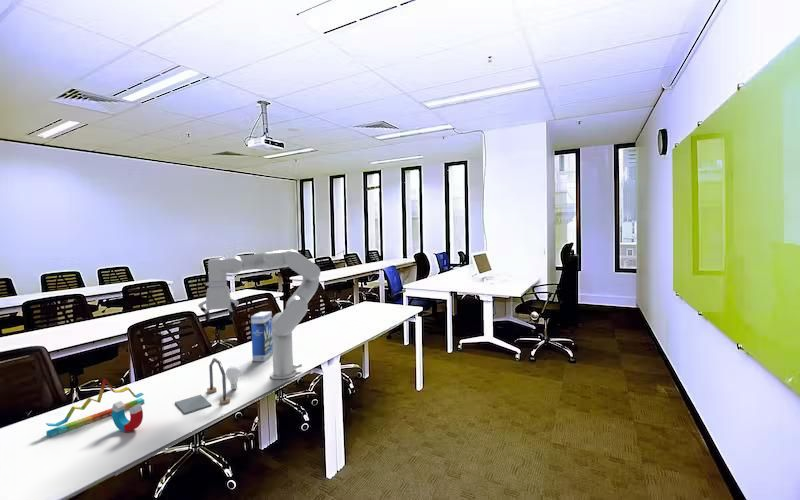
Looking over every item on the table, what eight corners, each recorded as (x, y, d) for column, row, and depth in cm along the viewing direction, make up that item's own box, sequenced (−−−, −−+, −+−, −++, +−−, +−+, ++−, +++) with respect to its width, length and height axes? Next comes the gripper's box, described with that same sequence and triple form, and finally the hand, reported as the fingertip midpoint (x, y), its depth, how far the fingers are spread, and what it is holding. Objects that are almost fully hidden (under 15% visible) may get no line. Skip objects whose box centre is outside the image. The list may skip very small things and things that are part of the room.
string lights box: (265, 361, 206) (263, 316, 205) (251, 361, 207) (250, 316, 206) (273, 353, 220) (272, 311, 219) (261, 354, 220) (259, 311, 219)
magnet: (112, 430, 135) (110, 403, 135) (119, 426, 138) (118, 400, 137) (136, 434, 132) (135, 407, 131) (144, 430, 134) (142, 403, 134)
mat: (200, 395, 163) (200, 394, 163) (211, 405, 153) (211, 404, 153) (174, 403, 156) (174, 402, 156) (184, 414, 146) (184, 412, 146)
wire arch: (214, 389, 169) (212, 354, 169) (229, 402, 156) (228, 363, 155) (207, 391, 167) (205, 355, 167) (222, 404, 154) (220, 365, 153)
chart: (49, 438, 131) (47, 397, 130) (46, 436, 132) (44, 395, 132) (144, 404, 157) (143, 369, 156) (141, 402, 158) (139, 368, 158)
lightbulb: (226, 393, 165) (225, 369, 165) (226, 388, 171) (225, 364, 170) (242, 390, 168) (241, 366, 168) (241, 385, 174) (240, 362, 173)
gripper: (195, 286, 167) (197, 324, 168) (236, 284, 171) (238, 320, 172) (199, 284, 174) (201, 320, 175) (239, 282, 179) (240, 317, 179)
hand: (219, 320), depth 174 cm, fingers open, 9 cm apart
